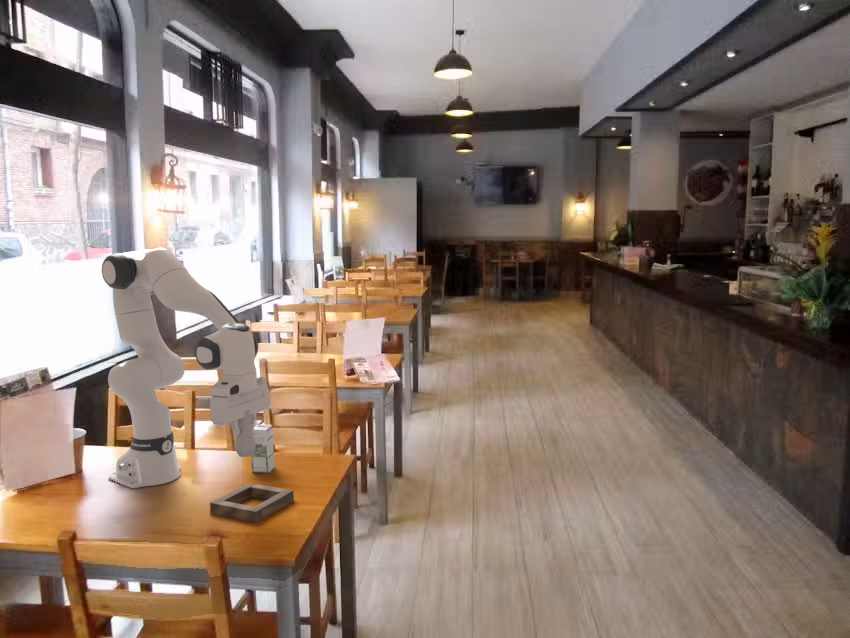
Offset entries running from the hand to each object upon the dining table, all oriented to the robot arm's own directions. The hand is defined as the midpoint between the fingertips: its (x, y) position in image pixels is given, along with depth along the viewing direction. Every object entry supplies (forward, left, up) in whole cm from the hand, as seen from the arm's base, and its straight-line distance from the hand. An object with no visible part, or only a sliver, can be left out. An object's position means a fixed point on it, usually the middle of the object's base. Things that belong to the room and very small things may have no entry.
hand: (243, 432), depth 188 cm
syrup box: (-16, +26, -22) cm, 38 cm away
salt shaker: (0, 0, -6) cm, 6 cm away
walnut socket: (+1, +1, -22) cm, 22 cm away
